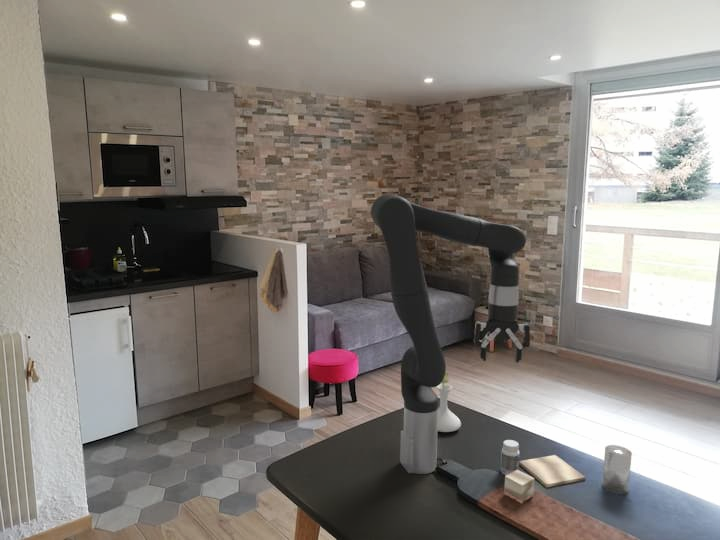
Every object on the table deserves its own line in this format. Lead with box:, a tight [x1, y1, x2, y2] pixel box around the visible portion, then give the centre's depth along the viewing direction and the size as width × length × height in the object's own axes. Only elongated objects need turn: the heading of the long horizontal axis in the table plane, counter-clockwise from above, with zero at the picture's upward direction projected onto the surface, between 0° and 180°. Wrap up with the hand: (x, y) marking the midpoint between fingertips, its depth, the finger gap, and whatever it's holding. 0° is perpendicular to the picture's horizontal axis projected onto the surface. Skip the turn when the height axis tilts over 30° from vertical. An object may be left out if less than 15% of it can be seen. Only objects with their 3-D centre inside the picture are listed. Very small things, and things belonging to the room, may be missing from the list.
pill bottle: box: [500, 439, 521, 476], centre depth 137 cm, size 5×5×8 cm
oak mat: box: [519, 454, 586, 488], centre depth 138 cm, size 12×12×1 cm
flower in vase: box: [435, 372, 462, 433], centre depth 161 cm, size 13×11×25 cm
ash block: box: [503, 469, 536, 501], centre depth 127 cm, size 5×5×5 cm
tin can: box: [601, 444, 632, 495], centre depth 130 cm, size 6×6×10 cm
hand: (500, 360), depth 136 cm, fingers open, 8 cm apart
